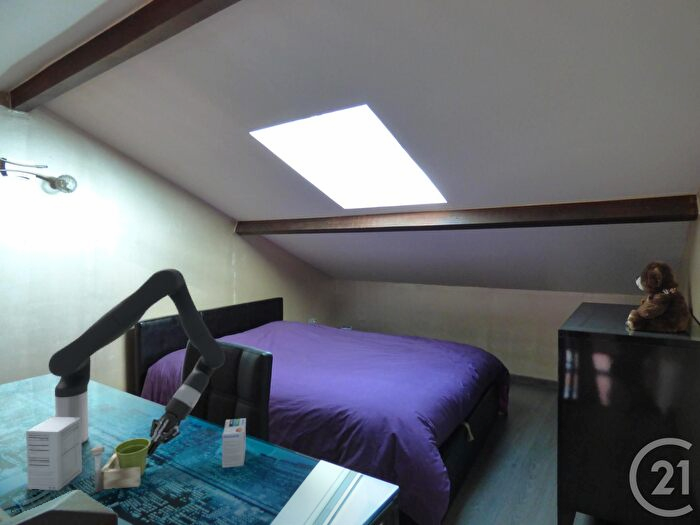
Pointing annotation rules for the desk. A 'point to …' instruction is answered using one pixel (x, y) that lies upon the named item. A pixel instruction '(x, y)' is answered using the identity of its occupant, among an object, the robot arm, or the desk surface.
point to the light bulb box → (234, 443)
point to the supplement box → (54, 453)
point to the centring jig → (113, 473)
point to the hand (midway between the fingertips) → (147, 454)
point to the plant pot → (133, 453)
